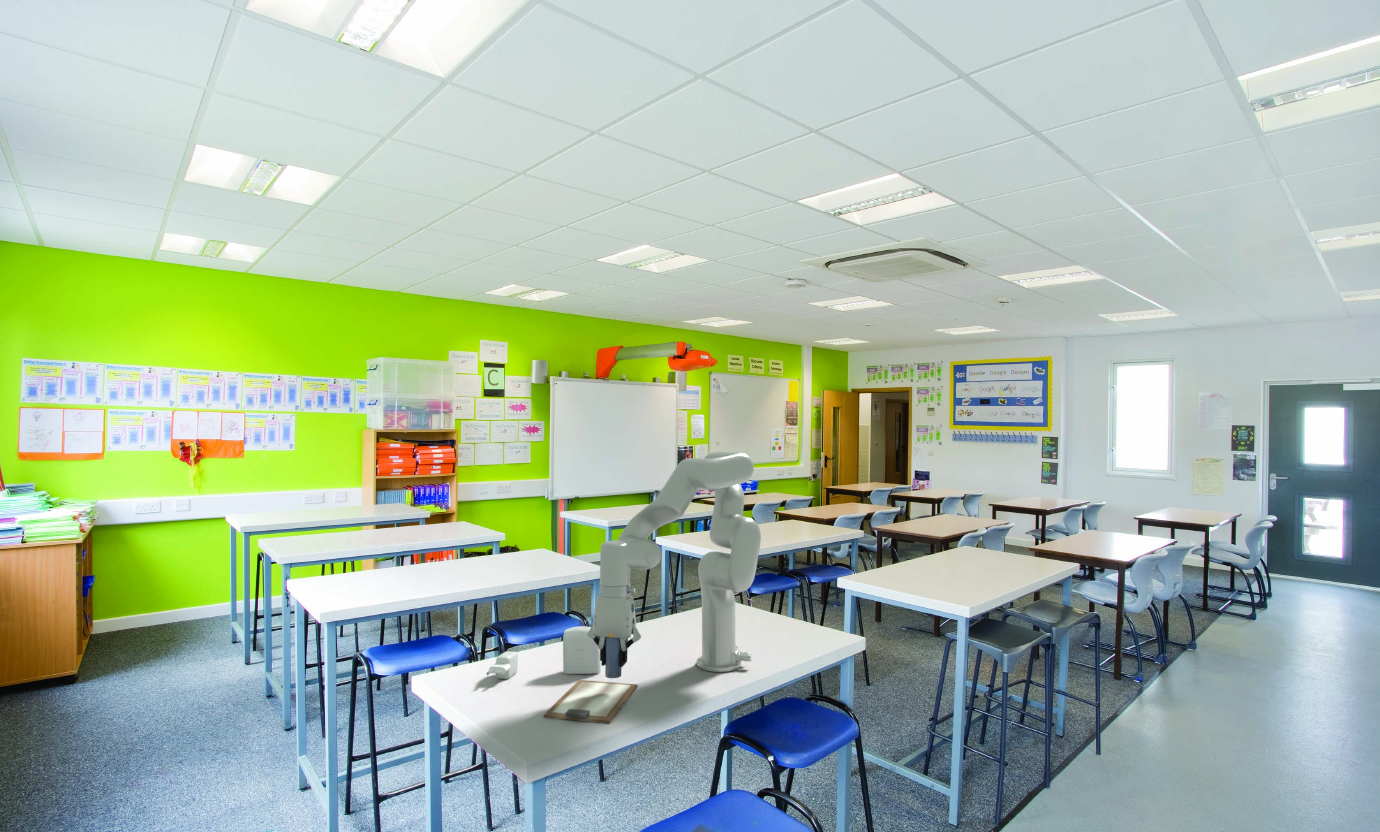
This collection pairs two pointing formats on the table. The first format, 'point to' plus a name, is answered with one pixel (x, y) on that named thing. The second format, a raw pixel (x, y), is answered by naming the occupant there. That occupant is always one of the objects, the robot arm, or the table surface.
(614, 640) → the cylinder
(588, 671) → the photo printer
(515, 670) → the power adapter
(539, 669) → the table surface
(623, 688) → the clipboard
